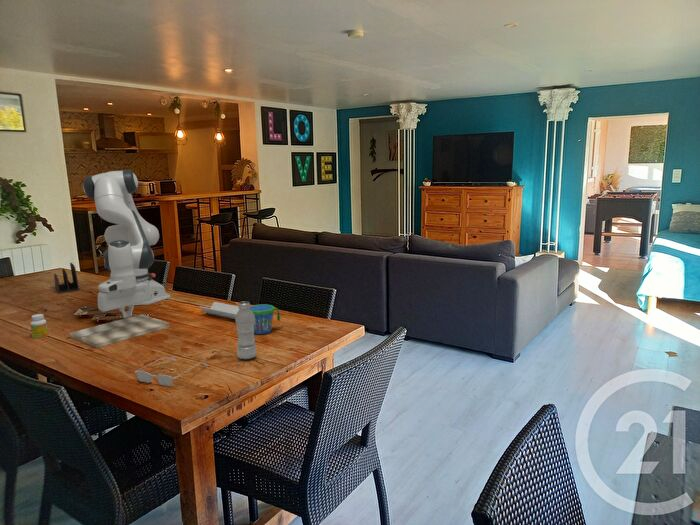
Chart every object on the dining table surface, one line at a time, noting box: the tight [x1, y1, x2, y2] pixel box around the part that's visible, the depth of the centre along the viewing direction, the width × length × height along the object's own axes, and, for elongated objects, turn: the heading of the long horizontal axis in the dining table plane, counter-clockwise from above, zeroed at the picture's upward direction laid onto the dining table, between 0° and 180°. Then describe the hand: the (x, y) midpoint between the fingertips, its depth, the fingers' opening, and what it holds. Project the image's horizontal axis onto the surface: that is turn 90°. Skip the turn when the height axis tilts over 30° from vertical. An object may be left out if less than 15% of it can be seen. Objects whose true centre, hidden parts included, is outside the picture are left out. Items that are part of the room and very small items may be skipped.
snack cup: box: [250, 303, 281, 335], centre depth 198 cm, size 16×10×10 cm
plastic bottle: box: [234, 300, 257, 360], centre depth 170 cm, size 6×7×20 cm
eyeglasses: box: [134, 357, 209, 387], centre depth 160 cm, size 15×18×4 cm
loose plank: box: [81, 317, 171, 349], centre depth 196 cm, size 30×12×2 cm, turn 142°
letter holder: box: [53, 262, 80, 294], centre depth 276 cm, size 10×20×14 cm, turn 35°
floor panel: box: [69, 314, 153, 342], centre depth 199 cm, size 32×25×2 cm
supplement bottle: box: [30, 313, 49, 339], centre depth 194 cm, size 5×5×10 cm
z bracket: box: [199, 301, 239, 320], centre depth 220 cm, size 12×25×6 cm
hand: (127, 316), depth 194 cm, fingers closed
